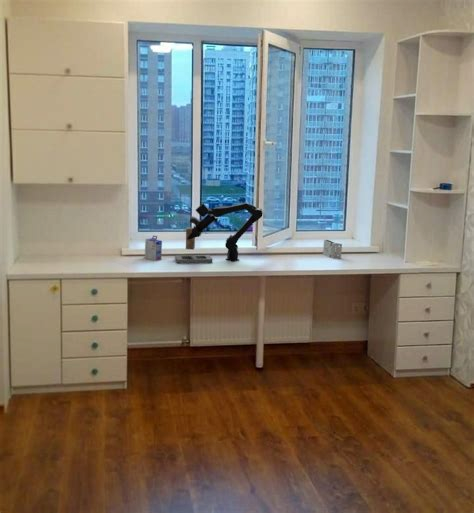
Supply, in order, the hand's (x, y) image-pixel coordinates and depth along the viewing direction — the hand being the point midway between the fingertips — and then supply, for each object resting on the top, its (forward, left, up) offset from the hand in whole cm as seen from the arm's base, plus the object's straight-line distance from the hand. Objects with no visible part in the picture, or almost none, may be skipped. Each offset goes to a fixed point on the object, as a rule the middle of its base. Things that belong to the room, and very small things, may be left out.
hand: (188, 238), depth 408 cm
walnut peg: (-1, -1, -7) cm, 7 cm away
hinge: (-51, -82, -13) cm, 98 cm away
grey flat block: (-10, +3, -13) cm, 16 cm away
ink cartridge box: (+9, +21, -13) cm, 26 cm away
